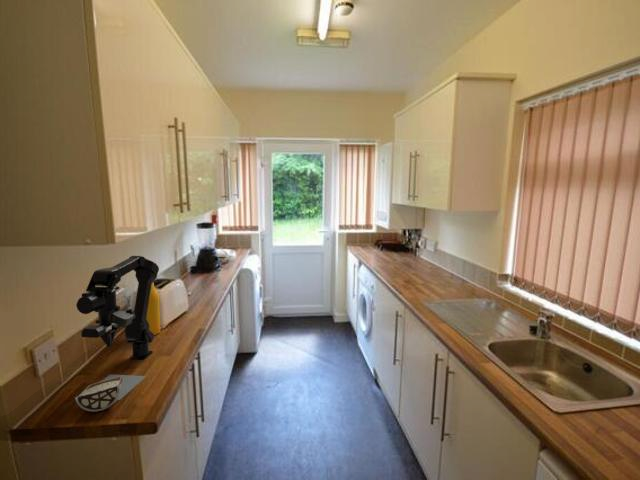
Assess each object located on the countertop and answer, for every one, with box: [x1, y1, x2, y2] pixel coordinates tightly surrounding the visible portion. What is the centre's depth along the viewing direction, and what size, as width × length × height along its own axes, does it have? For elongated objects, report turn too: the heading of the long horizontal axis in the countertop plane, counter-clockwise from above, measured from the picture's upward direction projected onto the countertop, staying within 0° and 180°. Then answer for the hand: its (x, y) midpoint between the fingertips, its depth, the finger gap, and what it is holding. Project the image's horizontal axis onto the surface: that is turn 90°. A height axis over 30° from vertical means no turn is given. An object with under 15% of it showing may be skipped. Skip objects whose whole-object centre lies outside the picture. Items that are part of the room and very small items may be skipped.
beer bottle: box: [146, 282, 161, 336], centre depth 163 cm, size 9×9×29 cm
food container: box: [75, 376, 122, 412], centre depth 107 cm, size 12×6×10 cm
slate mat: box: [101, 374, 147, 402], centre depth 117 cm, size 15×14×1 cm
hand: (109, 346), depth 122 cm, fingers closed
